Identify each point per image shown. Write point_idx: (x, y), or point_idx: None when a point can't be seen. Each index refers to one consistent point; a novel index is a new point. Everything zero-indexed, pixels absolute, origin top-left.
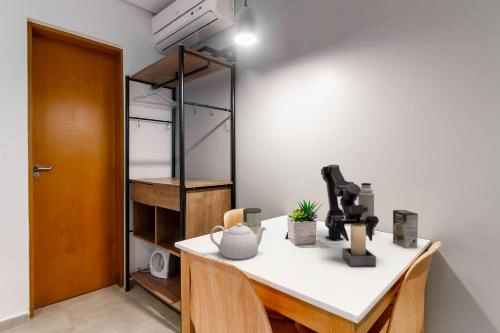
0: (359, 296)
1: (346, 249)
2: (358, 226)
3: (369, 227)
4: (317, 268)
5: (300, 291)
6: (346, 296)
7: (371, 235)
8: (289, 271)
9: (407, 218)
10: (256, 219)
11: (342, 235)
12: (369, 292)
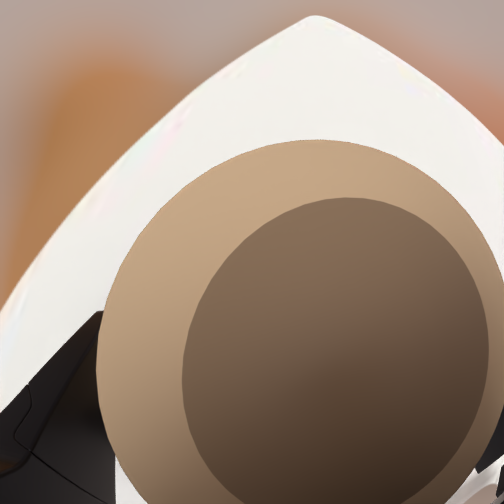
0: (303, 47)
1: None
2: (378, 201)
3: (24, 451)
4: None
5: (438, 87)
6: (337, 51)
7: (73, 345)
8: (499, 195)
9: None
10: None
11: None
12: (270, 58)
